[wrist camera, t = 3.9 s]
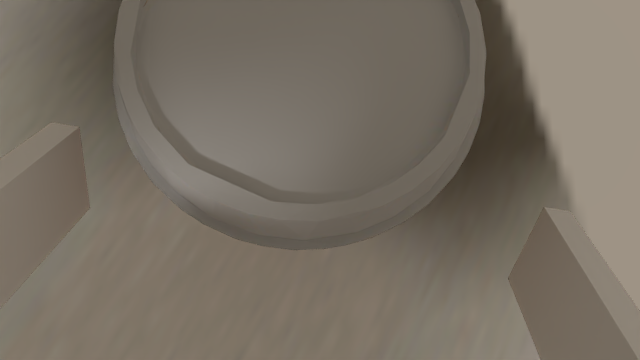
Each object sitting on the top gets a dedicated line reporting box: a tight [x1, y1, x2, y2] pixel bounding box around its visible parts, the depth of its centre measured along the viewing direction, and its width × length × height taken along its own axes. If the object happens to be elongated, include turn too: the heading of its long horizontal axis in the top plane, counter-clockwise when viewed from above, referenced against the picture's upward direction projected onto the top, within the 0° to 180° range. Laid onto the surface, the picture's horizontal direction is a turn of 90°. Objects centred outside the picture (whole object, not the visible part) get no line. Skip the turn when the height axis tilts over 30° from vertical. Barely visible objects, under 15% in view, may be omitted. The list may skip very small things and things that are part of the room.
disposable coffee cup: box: [113, 0, 487, 250], centre depth 16 cm, size 10×10×12 cm
